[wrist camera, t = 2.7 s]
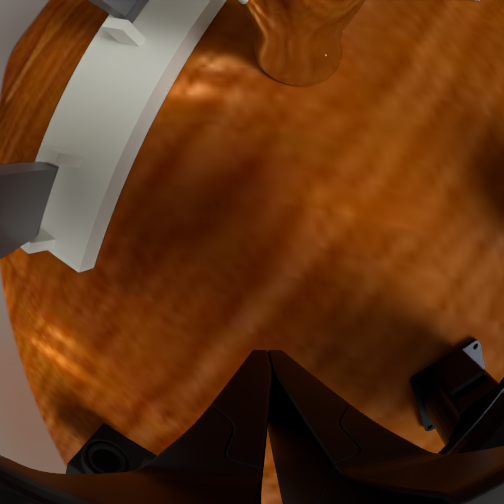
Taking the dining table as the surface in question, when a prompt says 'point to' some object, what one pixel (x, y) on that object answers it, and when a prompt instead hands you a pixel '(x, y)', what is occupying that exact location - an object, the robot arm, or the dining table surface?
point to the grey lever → (122, 8)
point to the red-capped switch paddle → (23, 201)
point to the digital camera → (108, 454)
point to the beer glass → (299, 37)
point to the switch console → (111, 120)
